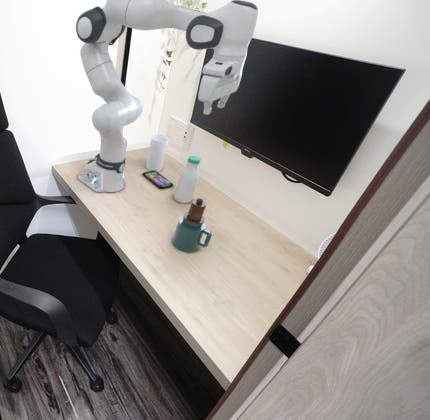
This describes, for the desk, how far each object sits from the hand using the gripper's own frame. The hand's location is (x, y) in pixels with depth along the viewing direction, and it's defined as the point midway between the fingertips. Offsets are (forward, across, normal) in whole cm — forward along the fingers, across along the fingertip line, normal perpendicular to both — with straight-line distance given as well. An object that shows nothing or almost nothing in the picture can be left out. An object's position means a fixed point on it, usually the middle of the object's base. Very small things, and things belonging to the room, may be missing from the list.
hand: (213, 110), depth 105 cm
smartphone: (+44, -18, -24) cm, 53 cm away
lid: (+33, +13, +9) cm, 36 cm away
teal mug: (+44, +13, +10) cm, 47 cm away
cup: (+44, -28, -33) cm, 61 cm away
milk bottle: (+44, -13, -8) cm, 47 cm away
